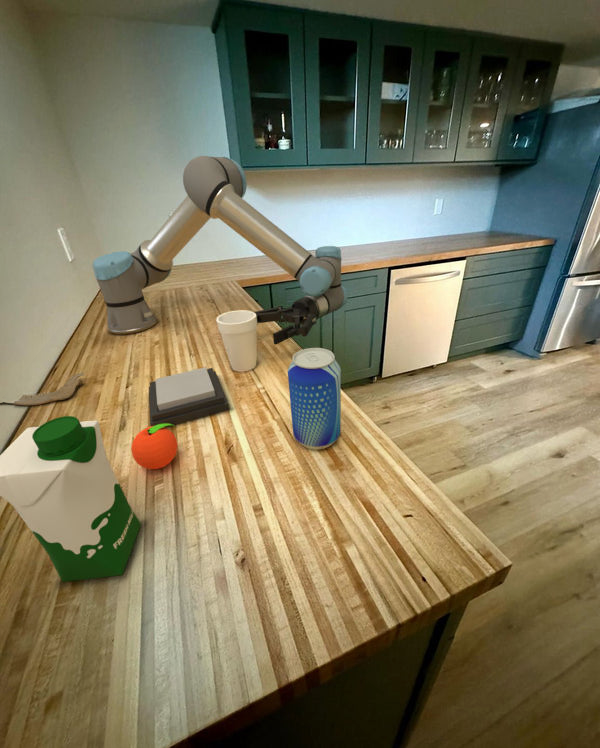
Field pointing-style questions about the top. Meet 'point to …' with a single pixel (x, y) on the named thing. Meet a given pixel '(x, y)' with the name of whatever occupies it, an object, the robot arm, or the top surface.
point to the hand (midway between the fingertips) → (255, 333)
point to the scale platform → (183, 388)
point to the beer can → (315, 397)
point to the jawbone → (52, 393)
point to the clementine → (154, 446)
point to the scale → (188, 405)
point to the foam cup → (239, 338)
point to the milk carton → (70, 498)
